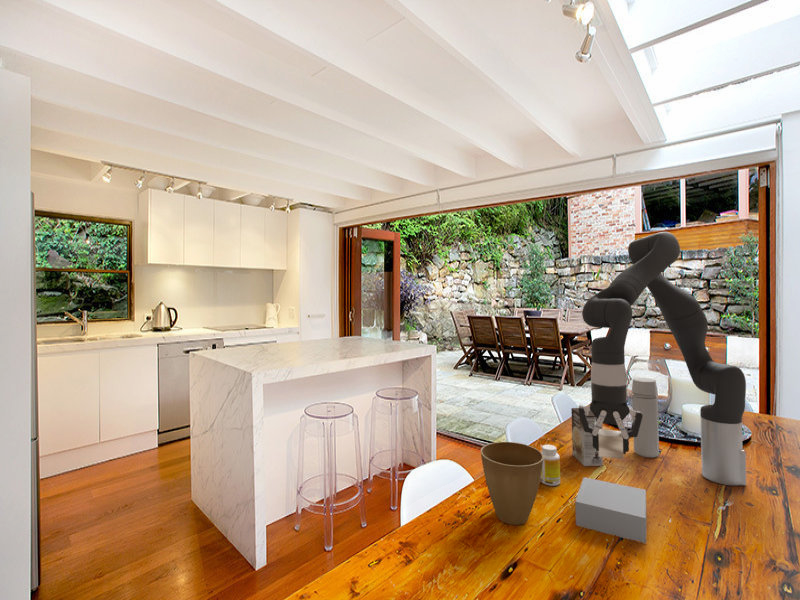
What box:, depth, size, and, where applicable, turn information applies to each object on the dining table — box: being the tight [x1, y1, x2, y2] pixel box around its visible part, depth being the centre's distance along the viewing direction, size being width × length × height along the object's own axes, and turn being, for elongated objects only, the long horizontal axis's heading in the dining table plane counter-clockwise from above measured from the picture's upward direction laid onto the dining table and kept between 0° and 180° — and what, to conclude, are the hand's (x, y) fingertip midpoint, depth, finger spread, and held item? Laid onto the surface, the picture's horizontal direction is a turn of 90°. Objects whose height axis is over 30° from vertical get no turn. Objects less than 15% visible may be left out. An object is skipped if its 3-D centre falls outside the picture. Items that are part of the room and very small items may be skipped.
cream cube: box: [598, 428, 624, 460], centre depth 94 cm, size 5×5×5 cm
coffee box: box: [570, 407, 604, 467], centre depth 126 cm, size 9×6×16 cm
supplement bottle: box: [540, 444, 561, 487], centre depth 113 cm, size 6×6×10 cm
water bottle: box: [626, 377, 660, 459], centre depth 130 cm, size 9×8×25 cm
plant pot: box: [480, 441, 544, 526], centre depth 96 cm, size 15×15×16 cm
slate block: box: [575, 477, 647, 544], centre depth 94 cm, size 14×14×6 cm
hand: (610, 451), depth 94 cm, fingers closed on cream cube, 5 cm apart
